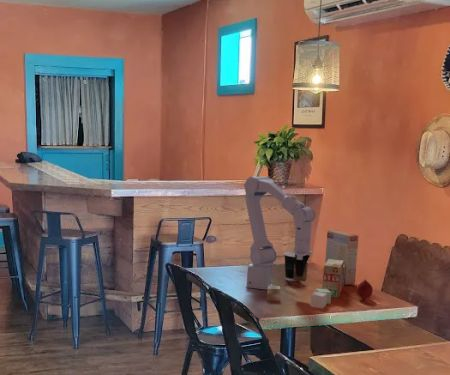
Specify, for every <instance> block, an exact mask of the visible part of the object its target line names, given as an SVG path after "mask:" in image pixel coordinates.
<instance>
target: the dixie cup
mask: <svg viewBox="0 0 450 375" xmlns="http://www.w3.org/2000/svg"><path fill="white" fill-rule="evenodd" d="M283 255H284V271H285V272H284V274H285V280H286V281H289V282H297V281H296V280H293V277H294V261H293V257H295V253H294V251H286V252H284V253H283Z"/></svg>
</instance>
